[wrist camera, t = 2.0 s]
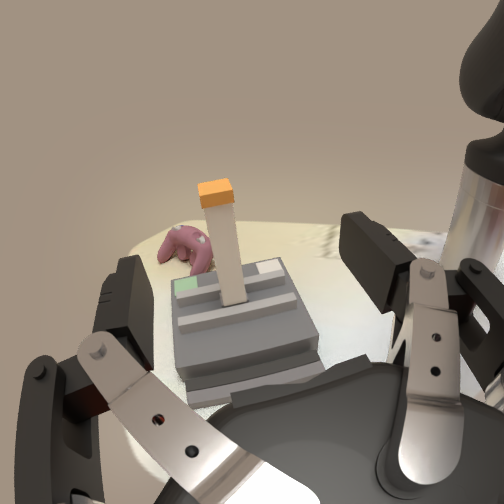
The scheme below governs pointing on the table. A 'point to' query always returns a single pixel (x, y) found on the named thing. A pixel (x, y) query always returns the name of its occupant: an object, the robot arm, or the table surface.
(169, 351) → the table surface
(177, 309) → the breaker panel
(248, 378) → the grey long flat bar
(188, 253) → the video game controller
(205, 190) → the breaker lever
